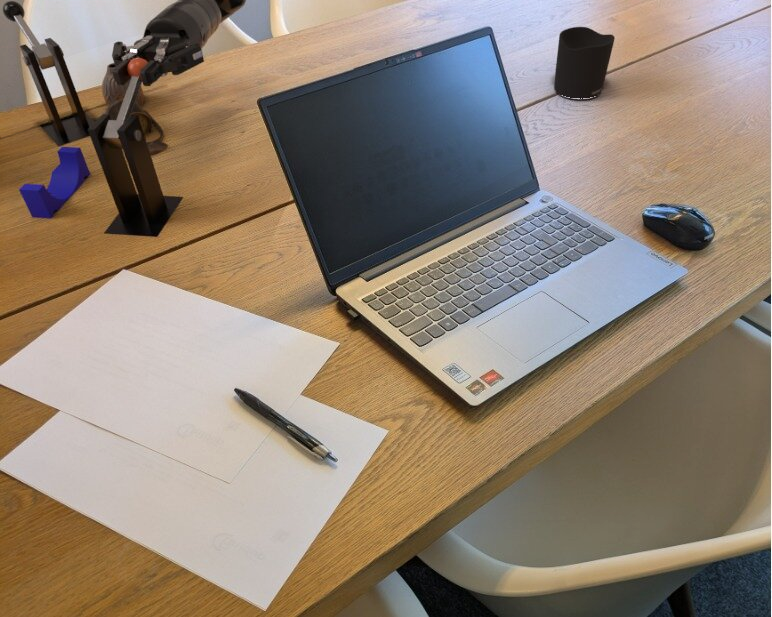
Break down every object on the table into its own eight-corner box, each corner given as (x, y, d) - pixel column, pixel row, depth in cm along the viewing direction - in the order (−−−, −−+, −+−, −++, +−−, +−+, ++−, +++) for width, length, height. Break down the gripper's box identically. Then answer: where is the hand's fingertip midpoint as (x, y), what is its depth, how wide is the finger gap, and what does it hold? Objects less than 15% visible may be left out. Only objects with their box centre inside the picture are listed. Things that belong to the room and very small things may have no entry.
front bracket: (136, 201, 100) (102, 103, 90) (185, 204, 99) (157, 105, 89) (106, 240, 93) (65, 139, 82) (159, 244, 92) (125, 142, 81)
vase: (112, 105, 125) (96, 59, 119) (149, 101, 125) (135, 55, 120) (107, 122, 120) (91, 75, 114) (146, 117, 120) (132, 71, 115)
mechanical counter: (160, 94, 115) (98, 92, 111) (168, 118, 106) (100, 117, 102) (162, 134, 119) (102, 133, 115) (170, 161, 109) (105, 161, 106)
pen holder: (557, 103, 119) (566, 48, 112) (546, 81, 126) (554, 27, 119) (609, 101, 119) (621, 45, 112) (595, 78, 126) (606, 25, 119)
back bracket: (42, 132, 118) (4, 43, 107) (86, 117, 121) (53, 30, 111) (61, 153, 112) (23, 61, 101) (106, 137, 115) (74, 47, 105)
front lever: (137, 69, 93) (127, 52, 90) (158, 70, 93) (148, 52, 90) (108, 150, 88) (97, 134, 85) (131, 151, 87) (120, 135, 84)
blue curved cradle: (67, 179, 106) (53, 146, 101) (93, 181, 105) (80, 147, 101) (26, 223, 97) (9, 188, 93) (54, 225, 96) (38, 190, 92)
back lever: (2, 15, 111) (-4, -1, 108) (21, 10, 112) (16, -6, 109) (39, 72, 107) (35, 57, 105) (59, 67, 109) (55, 52, 106)
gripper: (129, 6, 100) (72, 50, 87) (218, 7, 98) (172, 52, 85) (143, 56, 105) (91, 103, 92) (228, 58, 103) (186, 107, 90)
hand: (131, 78), depth 89 cm, fingers closed on front lever, 3 cm apart
